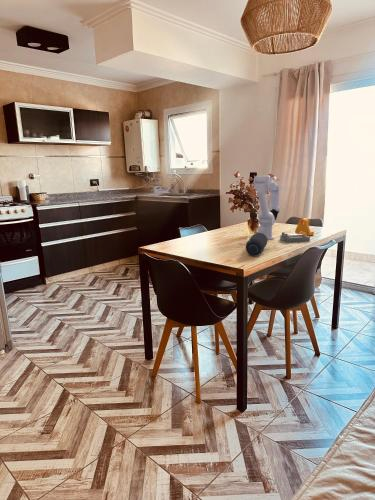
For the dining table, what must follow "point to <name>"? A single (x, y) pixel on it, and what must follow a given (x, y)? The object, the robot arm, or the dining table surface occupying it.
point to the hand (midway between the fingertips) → (274, 219)
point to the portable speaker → (256, 244)
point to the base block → (294, 238)
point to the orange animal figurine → (304, 227)
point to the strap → (293, 235)
